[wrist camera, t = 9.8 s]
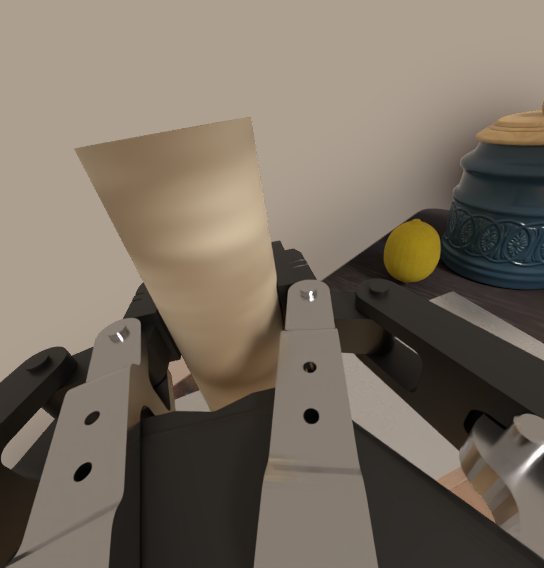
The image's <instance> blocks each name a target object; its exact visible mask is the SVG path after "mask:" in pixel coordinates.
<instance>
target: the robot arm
mask: <svg viewBox="0 0 544 568" xmlns="http://www.w3.org/2000/svg"><path fill="white" fill-rule="evenodd" d="M271 244H272V250H273V256H274V262H275V269H276V275H277V287H278V293H279V299H280V305H281V311H282V317H283V323H284V329H285V330H282V331H281V336H280V346H279V357H278V367H277V378H276V387H275V388H270V389H266V390H262V391H258V392H253V393H251V394H249V395H247V396H245V397H243V398H241V399H239V400H237V401H235V402H233V403H231V404H229V405H227V406H225V407H223V408H221V409H219V410H216V411H212V412H205V411H176V408H175V400H174V392H173V384H172V377H171V373H170V371H169V370H168V365H169V362H171V361H175V360H180V358H181V353H180V351H179V349H178V347H177V345H176V344H175V342H174V340H173V338H172V336H171V334H170V332H169V330H168V328H167V326H166V324H165V322H164V320H163V319H162V317H161V315H160V313H159V311H158V309H157V307H156V305H155V303H154V301H153V299H152V297H151V295H150V294H149V292H148V290H147V288H146V286H145V284H144V282H143V283H142V284H141V285H140V286H139V288H138V290H137V292H136V295H135V296H134V298H133V300H132V302H131V304H130V306H129V308H128V310H127V312H126V314H125V316H124V318H123V319H122V320H119V321H117V322H115V323H113V324H111V325H109V326H108V327H106V328H105V329H104V330H102V331H101V332H100V334H99V335H98V336H97V338H96V340H95V344H94V347H92V348H89V349H87V350H84V351H82V352H80V353H77V354H75V355H73V356H71V354H70V353H69V352H68V351H67V350H66V349H65V348H63V347H52V348H49V349H46V350H43V351H41V352H39V353H37V354H35V355H34V356H32V357H30V358H29V359H28V360H26V361H25V362H24V363H23V364H21V365H20V366H19V367H18V368H17V369H15V370H14V371H13V372H12V373H11V374H10V375H9V376H8V377H6V378H5V379H4V380H3V381H2V382H1V383H0V568H544V360H542V359H540V358H538V357H536V356H534V355H532V354H530V353H528V352H526V351H524V350H523V349H521V348H519V347H517V346H515V345H513V344H511V343H509V342H507V341H505V340H503V339H501V338H500V337H498V336H496V335H494V334H492V333H490V332H488V331H486V330H484V329H482V328H480V327H478V326H477V325H475V324H473V323H471V322H469V321H467V320H465V319H463V318H461V317H459V316H457V315H455V314H454V313H452V312H450V311H448V310H446V309H444V308H442V307H440V306H438V305H436V304H434V303H433V302H431V301H429V300H427V299H425V298H423V297H421V296H419V295H417V294H415V293H413V292H411V291H410V290H408V289H406V288H404V287H402V286H400V285H398V284H396V283H394V282H392V281H389V280H385V279H368V280H364V281H362V282H360V283H359V284H358V285H357V286H356V291H355V292H334V291H330V290H329V287H328V286H327V285H326V284H325V283H323V282H321V281H318V280H317V279H316V278H315V276H314V274H313V272H312V271H311V269H310V267H309V265H308V264H307V262H306V260H305V259H304V257H303V255H302V254H301V253H300V252H299V251H297V250H295V249H289V250H284V248H283V246H282V244H281V242H280V241H275V242H271ZM395 337H396V338H398V339H399V340H401V341H402V342H403V343H405V344H406V345H408V346H409V347H410V348H412V349H413V350H414V351H415V352H416V353H415V352H414V351H413V350H411V349H410V348H408V347H407V346H406V345H404V344H403V343H401V342H400V341H399V340H397V339H396V338H395ZM342 353H354V354H355V356H356V357H357V358H358V359H359V360H360V361H361V362H362V363H363V364H365V365H366V366H367V367H368V368H369V369H370V370H371V371H372V372H373V373H374V374H375V375H377V376H378V377H379V378H380V379H381V380H382V381H383V382H384V383H385V384H386V385H387V386H389V387H390V388H391V389H392V390H393V391H394V392H395V393H396V394H397V395H398V396H399V397H401V398H402V399H403V400H404V401H405V402H406V403H407V404H408V405H409V406H410V407H411V408H413V409H414V410H415V411H416V412H417V413H418V414H419V415H420V416H421V417H422V418H423V419H425V420H426V421H427V422H428V423H429V424H430V425H431V426H432V427H433V428H434V429H435V430H437V431H438V432H439V433H440V434H441V435H442V436H443V437H444V438H445V439H446V440H447V441H449V442H450V443H451V444H452V445H453V446H454V447H455V448H456V449H457V450H458V451H459V460H460V464H461V467H462V470H463V472H464V474H465V476H466V477H467V479H468V480H469V482H470V483H471V484H472V486H473V487H474V489H475V490H476V492H477V493H478V494H479V495H480V496H482V497H483V499H484V500H485V502H486V503H487V505H488V507H489V508H490V510H491V512H492V515H493V517H494V519H495V523H496V524H495V523H494V522H492V521H491V520H490V519H488V518H487V517H486V516H484V515H483V514H481V513H480V512H479V511H477V510H476V509H475V508H473V507H472V506H470V505H469V504H468V503H466V502H465V501H464V500H462V499H461V498H459V497H458V496H457V495H455V494H454V493H452V492H451V491H450V490H448V489H447V488H446V487H444V486H443V485H441V484H440V483H439V482H437V481H436V480H435V479H433V478H432V477H430V476H429V475H428V474H426V473H425V472H424V471H422V470H421V469H419V468H418V467H417V466H415V465H414V464H413V463H411V462H410V461H408V460H407V459H406V458H404V457H403V456H401V455H400V454H399V453H397V452H396V451H395V450H393V449H392V448H390V447H389V446H388V445H386V444H385V443H384V442H382V441H381V440H379V439H378V438H377V437H375V436H374V435H373V434H371V433H370V432H368V431H367V430H366V429H364V428H363V427H362V426H360V425H359V424H357V423H356V422H355V421H353V420H352V417H351V410H350V404H349V398H348V391H347V385H346V379H345V372H344V366H343V360H342ZM40 408H43V409H44V410H45V411H46V412H47V413H49V414H50V415H51V416H52V417H53V418H55V420H54V421H53V422H52V423H51V424H50V425H49V427H48V428H47V429H46V430H45V431H44V432H43V434H42V435H41V436H40V437H39V438H38V440H37V441H36V442H35V443H34V444H33V445H32V447H31V448H30V449H29V450H28V451H27V453H26V454H25V455H24V456H23V457H22V458H21V460H20V461H19V462H18V463H17V464H16V465H15V466H14V468H12V469H11V470H10V469H9V468H7V467H5V466H4V465H3V464H2V463H1V454H2V451H3V449H4V448H5V446H6V445H7V444H8V442H9V441H10V440H11V439H12V438H13V437H14V436H15V435H16V434H17V433H18V431H20V429H21V428H22V427H23V426H24V425H25V424H26V423H27V422H28V421H29V420H30V419H31V418H32V417H33V415H34V414H35V413H36V412H37V411H38V410H39V409H40ZM22 539H23V541H22ZM21 541H22V544H21V546H20V547H19V549H18V550H17V551H16V552H15V553H14V554H13V552H14V551H15V549H16V548H17V547H18V545H19V544H20V542H21ZM12 554H13V555H12ZM11 555H12V556H11ZM10 557H11V558H10ZM9 558H10V559H9Z"/></svg>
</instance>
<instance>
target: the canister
mask: <svg viewBox="0 0 544 568" xmlns="http://www.w3.org/2000/svg"><path fill="white" fill-rule="evenodd" d="M476 139H477V140H478V141H480V143H479V144H478V146H477V147H476V149H475V150H473V151H471V152H469V153H468V154H466V155H465V156H463V157H462V158H461V160H460V165H461V166H462V168H463V169H464V172H463V175H462V178H461V181H460V183H459V184H458V185H457V186H456V187H455V188H454V189H453V200H452V204H451V208H450V212H449V216H448V220H447V224H446V228H445V232H444V233H443V235H442V237H441V242H440V247H441V251H440V257H441V260H442V261H443V263H444V264H445V265H446V266H447V267H449V268H450V269H451V270H453V271H454V272H456V273H458V274H460V275H462V276H464V277H466V278H469V279H471V280H474V281H477V282H480V283H484V284H488V285H492V286H497V287H503V288H510V289H525V290H531V289H544V103H543V106H542V110H538V111H531V112H524V113H519V114H513V115H509V116H505V117H502V118H500V119H498V120H497V121H496V122H495V123H494V124H492V125H491V126H489V127H488V128H485V129H484V130H482V131H480V132H478V133H477V135H476Z"/></svg>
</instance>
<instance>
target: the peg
mask: <svg viewBox="0 0 544 568" xmlns="http://www.w3.org/2000/svg"><path fill="white" fill-rule="evenodd" d="M75 151H76V153H77V155H78V157H79V159H80V161H81V163H82V165H83V167H84V168H85V171H86V172H87V174H88V176H89V178H90V180H91V182H92V184H93V186H94V187H95V190H96V192H97V193H98V196H99V197H100V199H101V201H102V203H103V205H104V207H105V209H106V211H107V213H108V214H109V217H110V219H111V221H112V222H113V224H114V226H115V228H116V230H117V232H118V234H119V236H120V238H121V239H122V242H123V243H124V246H125V247H126V249H127V251H128V253H129V255H130V257H131V259H132V261H133V263H134V265H135V267H136V269H137V270H138V272H139V274H140V276H141V278H142V280H143V282H144V284H145V286H146V288H147V290H148V292H149V294H150V295H151V297H152V299H153V301H154V303H155V305H156V307H157V309H158V311H159V313H160V315H161V317H162V319H163V320H164V322H165V324H166V326H167V328H168V330H169V332H170V334H171V336H172V338H173V340H174V342H175V344H176V345H177V347H178V349H179V351H180V353H181V355H182V357H183V359H184V361H185V363H186V365H187V367H188V368H189V370H190V372H191V374H192V376H193V378H194V380H195V382H196V384H197V386H198V388H199V390H200V392H201V394H202V395H203V397H204V399H205V401H206V403H207V405H208V407H209V409H210V411H211V412H212V411H216V410H219V409H221V408H223V407H225V406H227V405H229V404H231V403H233V402H235V401H237V400H239V399H241V398H243V397H245V396H247V395H249V394H251V393H253V392H258V391H262V390H266V389H270V388H275V387H276V378H277V367H278V357H279V346H280V336H281V331H282V330H285V329H284V323H283V317H282V311H281V305H280V299H279V293H278V287H277V275H276V269H275V262H274V256H273V250H272V244H271V238H270V232H269V226H268V220H267V213H266V207H265V201H264V195H263V189H262V183H261V176H260V170H259V164H258V158H257V152H256V146H255V140H254V133H253V127H252V121H251V117H246V118H241V119H234V120H229V121H223V122H217V123H212V124H206V125H200V126H195V127H189V128H183V129H178V130H172V131H167V132H162V133H156V134H150V135H145V136H140V137H134V138H128V139H123V140H117V141H112V142H106V143H101V144H96V145H90V146H85V147H80V148H75Z"/></svg>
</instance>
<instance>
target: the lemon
mask: <svg viewBox="0 0 544 568" xmlns="http://www.w3.org/2000/svg"><path fill="white" fill-rule="evenodd" d="M440 251H441V247H440V238H439V235H438V233H437V232H436V230H435V229H434V228H433V227H432V226H430V225H429V224H427V223H425V222H422V221H421V220H420V219H413V220H412V221H410V222H406V223H403V224H401V225H400V226H398V227H397V228H395V229H394V230H393V231H392V233H391V234H390V236H389V238H388V240H387V242H386V245H385V249H384V264H385V267H386V269H387V271H388V273H389V274H390V275H391V276H392V277H394V278H395V279H397V280H399V281H402V282H403V283H409V282H417V281H420V280H423V279H424V278H426V277H427V276H429V275H430V274H431V273H432V272H433V270H434V269H435V267H436V265H437V264H438V261H439V258H440Z"/></svg>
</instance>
